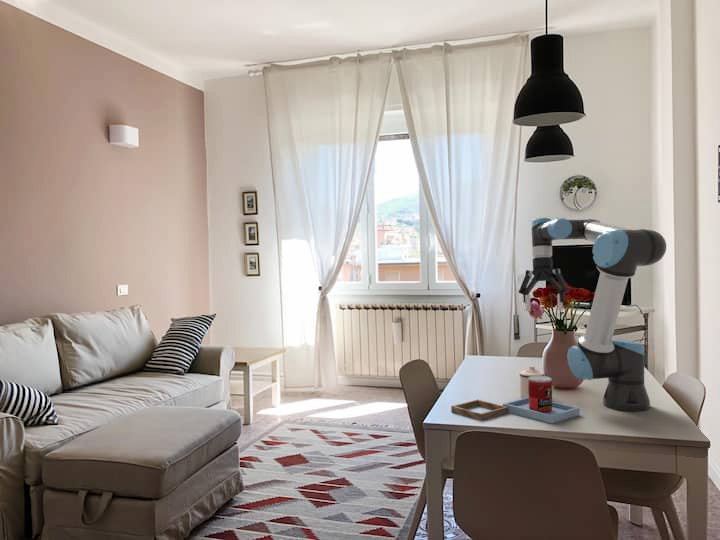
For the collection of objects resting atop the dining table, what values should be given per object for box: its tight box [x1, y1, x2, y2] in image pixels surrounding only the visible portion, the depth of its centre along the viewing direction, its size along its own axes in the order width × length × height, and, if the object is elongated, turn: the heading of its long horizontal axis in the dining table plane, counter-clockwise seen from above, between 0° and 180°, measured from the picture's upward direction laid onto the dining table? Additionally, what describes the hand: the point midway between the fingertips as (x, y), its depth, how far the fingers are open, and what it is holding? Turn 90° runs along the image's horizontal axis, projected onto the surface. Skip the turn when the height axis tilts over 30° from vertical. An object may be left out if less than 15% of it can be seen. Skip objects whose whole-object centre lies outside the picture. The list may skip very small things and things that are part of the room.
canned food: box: [528, 375, 553, 413], centre depth 202 cm, size 8×8×11 cm
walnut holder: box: [450, 399, 509, 421], centre depth 204 cm, size 14×14×2 cm
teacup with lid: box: [519, 365, 546, 399], centre depth 224 cm, size 12×9×12 cm
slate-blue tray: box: [502, 397, 580, 424], centre depth 202 cm, size 20×15×2 cm
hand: (543, 311), depth 232 cm, fingers open, 13 cm apart
